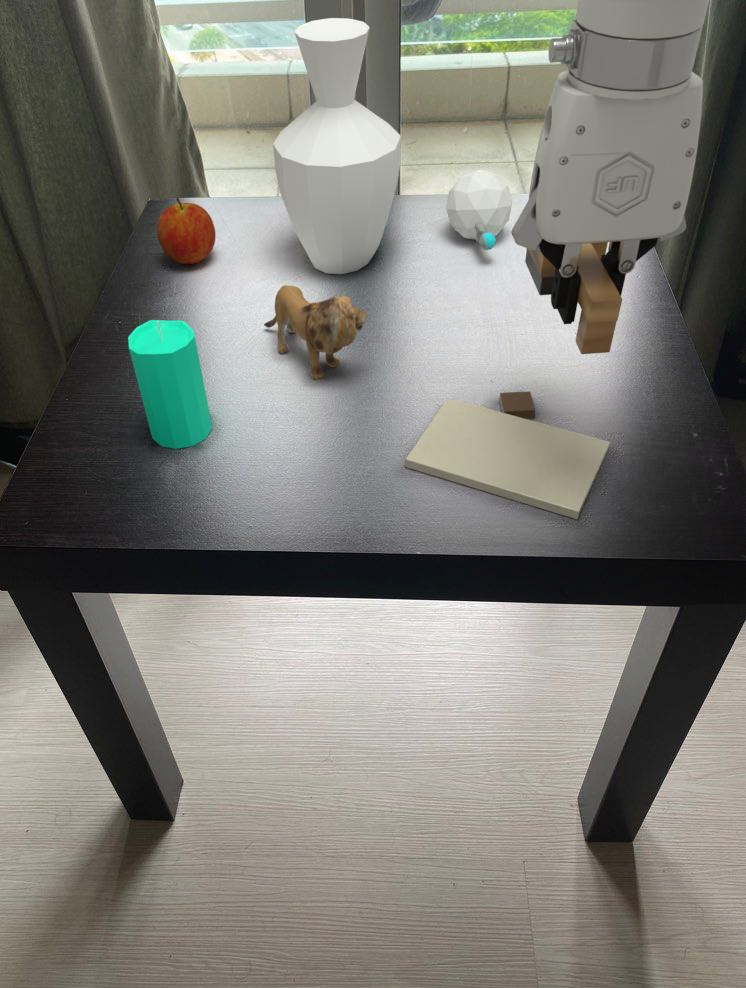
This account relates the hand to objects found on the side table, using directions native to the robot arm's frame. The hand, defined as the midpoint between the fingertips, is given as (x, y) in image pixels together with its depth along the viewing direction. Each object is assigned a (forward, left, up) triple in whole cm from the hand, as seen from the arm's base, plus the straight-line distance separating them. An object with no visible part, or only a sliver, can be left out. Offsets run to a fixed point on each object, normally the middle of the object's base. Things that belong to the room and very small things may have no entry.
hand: (582, 311), depth 66 cm
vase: (+35, -25, -15) cm, 46 cm away
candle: (+34, +11, -15) cm, 39 cm away
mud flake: (+6, -5, -15) cm, 17 cm away
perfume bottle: (+21, -35, -15) cm, 44 cm away
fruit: (+52, -17, -15) cm, 57 cm away
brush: (+1, -2, -1) cm, 3 cm away
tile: (+4, +2, -15) cm, 16 cm away
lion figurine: (+28, -5, -15) cm, 32 cm away
